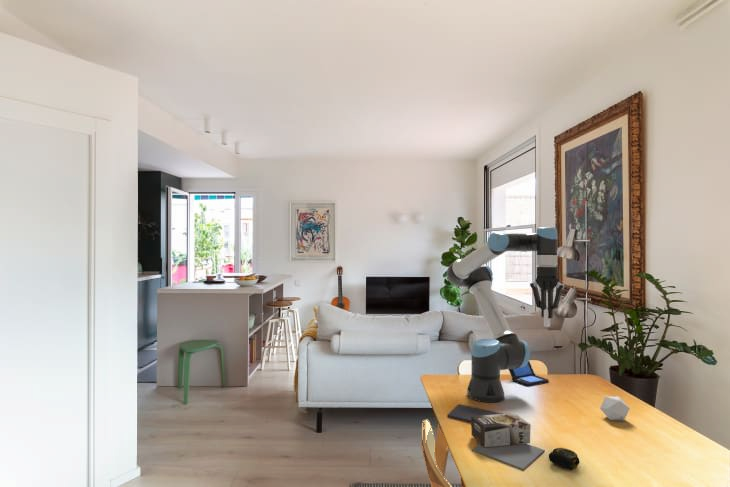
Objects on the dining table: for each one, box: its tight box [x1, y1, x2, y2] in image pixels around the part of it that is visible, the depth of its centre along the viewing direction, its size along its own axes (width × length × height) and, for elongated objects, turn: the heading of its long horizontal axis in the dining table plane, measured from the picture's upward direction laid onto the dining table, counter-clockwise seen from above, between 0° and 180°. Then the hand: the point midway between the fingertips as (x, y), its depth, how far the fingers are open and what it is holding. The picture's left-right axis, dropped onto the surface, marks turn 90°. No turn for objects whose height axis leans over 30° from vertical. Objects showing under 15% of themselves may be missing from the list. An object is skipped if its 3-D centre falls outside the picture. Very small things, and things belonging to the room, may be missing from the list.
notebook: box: [446, 403, 505, 424], centre depth 148 cm, size 13×2×21 cm
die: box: [599, 396, 631, 421], centre depth 149 cm, size 8×9×10 cm
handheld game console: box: [508, 361, 550, 387], centre depth 193 cm, size 16×13×9 cm
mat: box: [471, 443, 545, 472], centre depth 123 cm, size 16×16×1 cm
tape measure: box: [548, 447, 580, 472], centre depth 115 cm, size 7×7×4 cm
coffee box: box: [470, 412, 532, 447], centre depth 130 cm, size 9×6×16 cm
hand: (547, 326), depth 158 cm, fingers closed
